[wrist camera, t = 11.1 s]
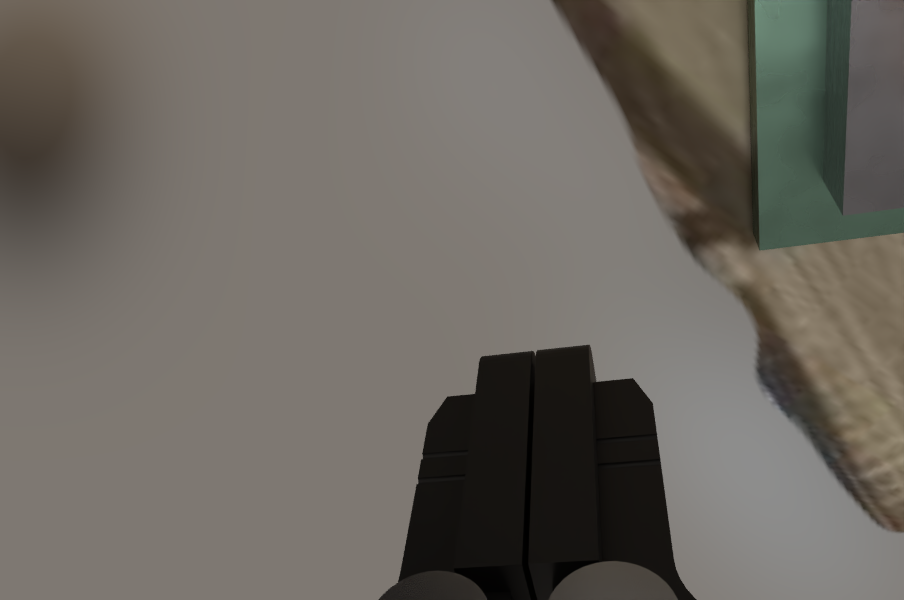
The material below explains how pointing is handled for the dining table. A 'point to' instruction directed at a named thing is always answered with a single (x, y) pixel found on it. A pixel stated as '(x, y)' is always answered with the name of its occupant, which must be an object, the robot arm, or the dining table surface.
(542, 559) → the robot arm
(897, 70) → the green tiered platform
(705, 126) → the dining table surface
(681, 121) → the dining table surface
